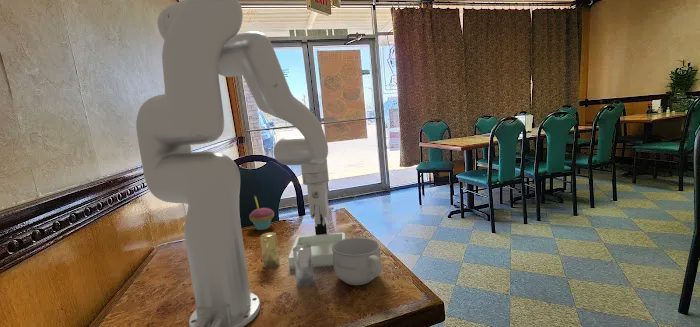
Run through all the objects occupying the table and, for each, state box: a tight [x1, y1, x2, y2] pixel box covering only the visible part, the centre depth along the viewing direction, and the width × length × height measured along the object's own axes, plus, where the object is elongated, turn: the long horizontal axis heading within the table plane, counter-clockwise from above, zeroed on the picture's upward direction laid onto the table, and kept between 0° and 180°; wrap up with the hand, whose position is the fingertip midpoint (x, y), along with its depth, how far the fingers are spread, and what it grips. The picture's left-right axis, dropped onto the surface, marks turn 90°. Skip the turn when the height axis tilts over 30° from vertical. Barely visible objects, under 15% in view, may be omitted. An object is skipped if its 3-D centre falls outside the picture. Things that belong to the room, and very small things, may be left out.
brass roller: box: [259, 231, 281, 270], centre depth 77 cm, size 4×4×8 cm
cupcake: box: [248, 194, 275, 231], centre depth 107 cm, size 9×8×12 cm
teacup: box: [332, 236, 383, 286], centre depth 66 cm, size 14×11×8 cm
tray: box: [287, 232, 346, 270], centre depth 81 cm, size 14×14×3 cm
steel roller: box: [292, 245, 315, 288], centre depth 68 cm, size 4×4×8 cm
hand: (321, 237), depth 90 cm, fingers closed
